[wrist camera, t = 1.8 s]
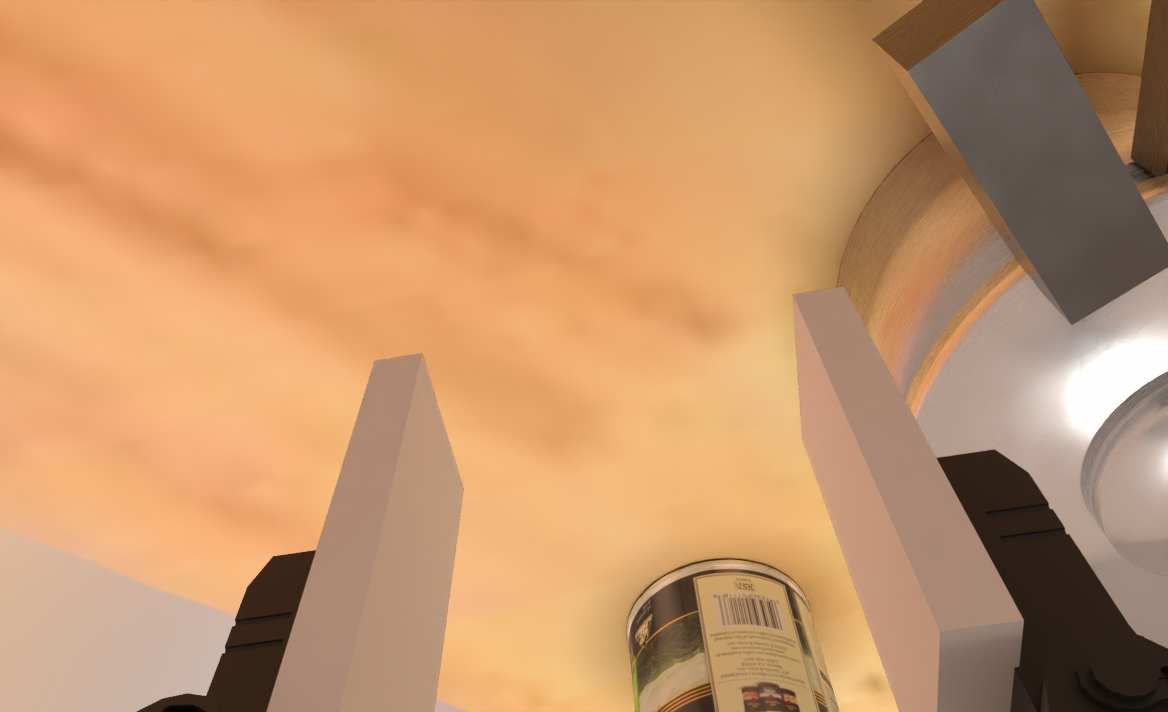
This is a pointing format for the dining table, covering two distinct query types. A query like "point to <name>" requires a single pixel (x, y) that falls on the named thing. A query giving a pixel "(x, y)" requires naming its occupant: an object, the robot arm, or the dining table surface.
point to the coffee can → (726, 643)
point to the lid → (1050, 291)
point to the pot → (975, 217)
